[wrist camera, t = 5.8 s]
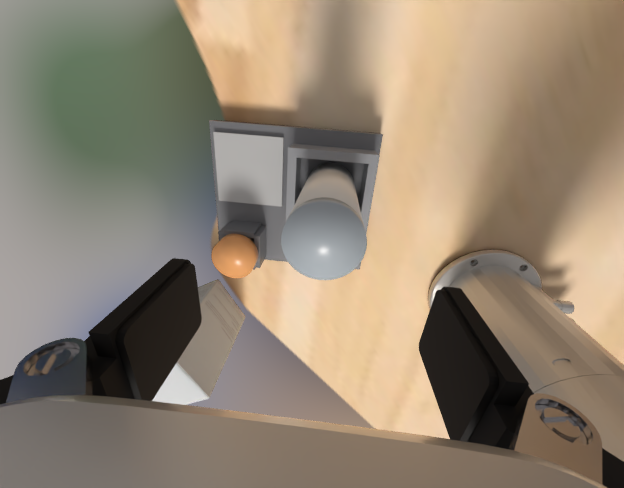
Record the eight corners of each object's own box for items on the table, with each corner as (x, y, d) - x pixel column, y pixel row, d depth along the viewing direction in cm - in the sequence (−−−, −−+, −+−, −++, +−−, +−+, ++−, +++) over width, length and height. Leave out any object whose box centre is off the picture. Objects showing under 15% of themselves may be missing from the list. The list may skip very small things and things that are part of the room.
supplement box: (177, 294, 38) (109, 369, 27) (219, 277, 37) (165, 350, 25) (206, 331, 41) (156, 414, 30) (247, 317, 39) (210, 400, 28)
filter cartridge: (357, 164, 27) (373, 206, 15) (350, 212, 29) (359, 284, 17) (307, 160, 27) (281, 198, 15) (304, 207, 30) (280, 275, 17)
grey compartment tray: (380, 133, 27) (388, 137, 23) (358, 263, 34) (362, 285, 29) (215, 120, 28) (191, 121, 24) (225, 249, 35) (208, 269, 30)
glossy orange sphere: (265, 225, 30) (253, 242, 26) (265, 259, 32) (254, 280, 28) (226, 221, 31) (209, 237, 26) (229, 255, 32) (213, 275, 28)
